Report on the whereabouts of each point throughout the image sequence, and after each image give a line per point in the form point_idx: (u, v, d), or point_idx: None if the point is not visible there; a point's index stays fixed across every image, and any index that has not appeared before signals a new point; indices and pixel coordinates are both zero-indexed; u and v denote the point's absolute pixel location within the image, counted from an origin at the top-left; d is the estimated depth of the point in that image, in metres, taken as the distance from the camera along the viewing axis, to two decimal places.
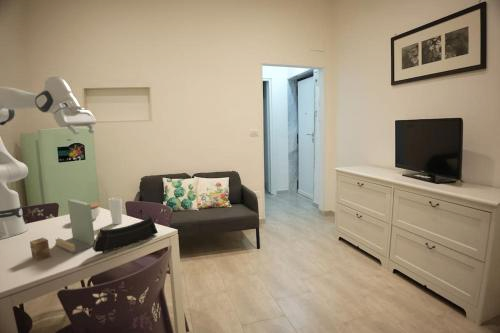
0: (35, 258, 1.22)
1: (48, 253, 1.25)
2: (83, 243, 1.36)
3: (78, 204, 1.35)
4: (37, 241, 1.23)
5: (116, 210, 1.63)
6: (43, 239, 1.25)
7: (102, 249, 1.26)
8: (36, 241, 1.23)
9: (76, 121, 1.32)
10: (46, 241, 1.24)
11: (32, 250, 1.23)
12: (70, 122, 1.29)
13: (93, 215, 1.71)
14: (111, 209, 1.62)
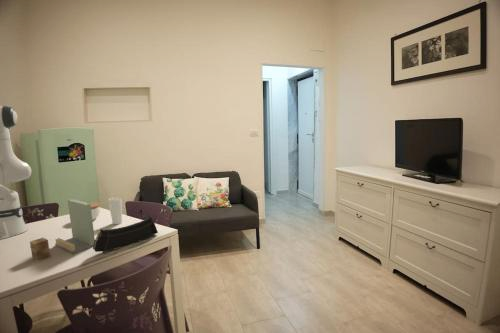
0: (35, 258, 1.22)
1: (48, 253, 1.25)
2: (83, 243, 1.36)
3: (78, 204, 1.35)
4: (37, 241, 1.23)
5: (116, 210, 1.63)
6: (43, 239, 1.25)
7: (102, 249, 1.26)
8: (36, 241, 1.23)
9: None
10: (46, 241, 1.24)
11: (32, 250, 1.23)
12: None
13: (93, 215, 1.71)
14: (111, 209, 1.62)
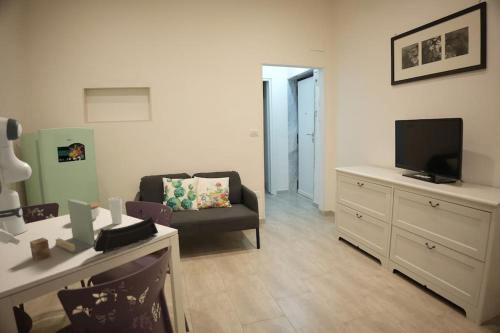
0: (35, 258, 1.22)
1: (48, 253, 1.25)
2: (83, 243, 1.36)
3: (78, 204, 1.35)
4: (37, 241, 1.23)
5: (116, 210, 1.63)
6: (43, 239, 1.25)
7: (102, 249, 1.26)
8: (36, 241, 1.23)
9: None
10: (46, 241, 1.24)
11: (32, 250, 1.23)
12: None
13: (93, 215, 1.71)
14: (111, 209, 1.62)
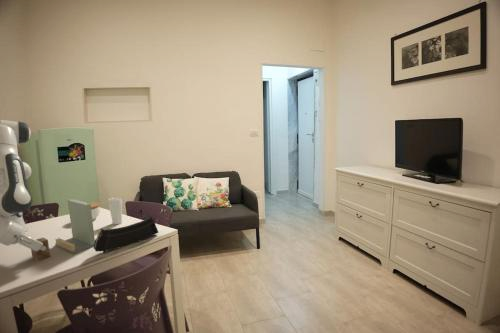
0: (35, 258, 1.22)
1: (48, 253, 1.25)
2: (83, 243, 1.36)
3: (78, 204, 1.35)
4: None
5: (116, 210, 1.63)
6: (43, 239, 1.25)
7: (103, 249, 1.26)
8: None
9: None
10: (46, 241, 1.24)
11: (32, 250, 1.23)
12: None
13: (93, 215, 1.71)
14: (111, 209, 1.62)
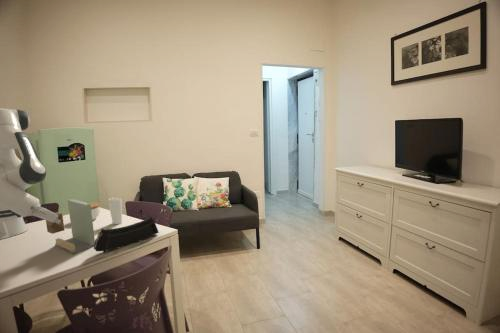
0: (50, 231, 1.27)
1: (62, 226, 1.29)
2: (83, 243, 1.36)
3: (78, 204, 1.35)
4: None
5: (116, 210, 1.63)
6: (57, 213, 1.29)
7: (103, 249, 1.26)
8: None
9: (39, 217, 1.26)
10: (60, 215, 1.28)
11: (47, 223, 1.27)
12: (37, 216, 1.28)
13: (93, 215, 1.71)
14: (111, 209, 1.62)
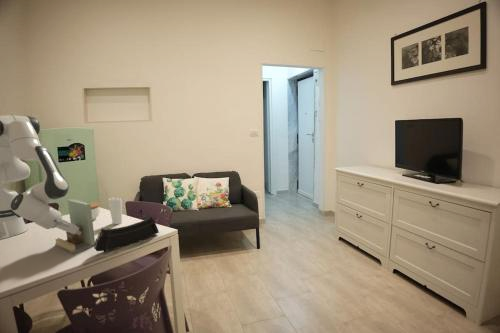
0: None
1: (82, 239, 1.37)
2: (83, 243, 1.36)
3: (78, 204, 1.35)
4: None
5: (116, 210, 1.63)
6: (77, 226, 1.37)
7: (103, 248, 1.27)
8: None
9: None
10: (80, 228, 1.36)
11: (68, 236, 1.35)
12: None
13: (93, 215, 1.71)
14: (111, 209, 1.62)
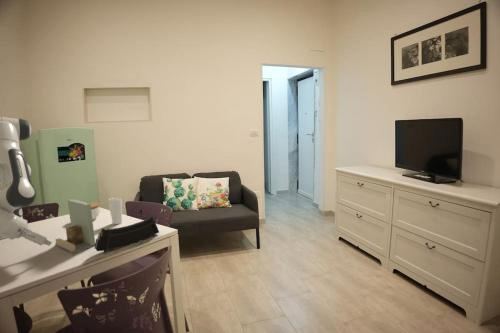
0: None
1: (82, 239, 1.37)
2: (83, 243, 1.36)
3: (78, 204, 1.35)
4: (72, 228, 1.35)
5: (116, 210, 1.63)
6: (77, 226, 1.37)
7: (104, 248, 1.27)
8: (71, 228, 1.35)
9: None
10: (80, 228, 1.36)
11: (68, 236, 1.35)
12: None
13: (93, 215, 1.71)
14: (111, 209, 1.62)
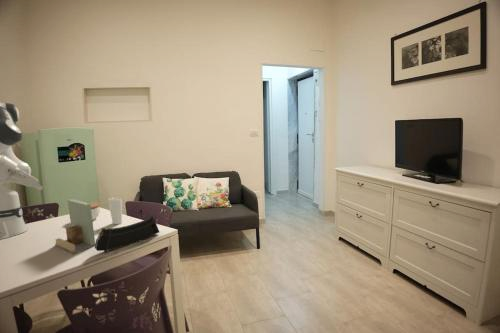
0: None
1: (82, 239, 1.37)
2: (83, 243, 1.36)
3: (78, 204, 1.35)
4: (72, 228, 1.35)
5: (116, 210, 1.63)
6: (77, 226, 1.37)
7: (104, 248, 1.27)
8: (71, 228, 1.35)
9: (18, 183, 1.19)
10: (80, 228, 1.36)
11: (68, 236, 1.35)
12: None
13: (93, 215, 1.71)
14: (111, 209, 1.62)
